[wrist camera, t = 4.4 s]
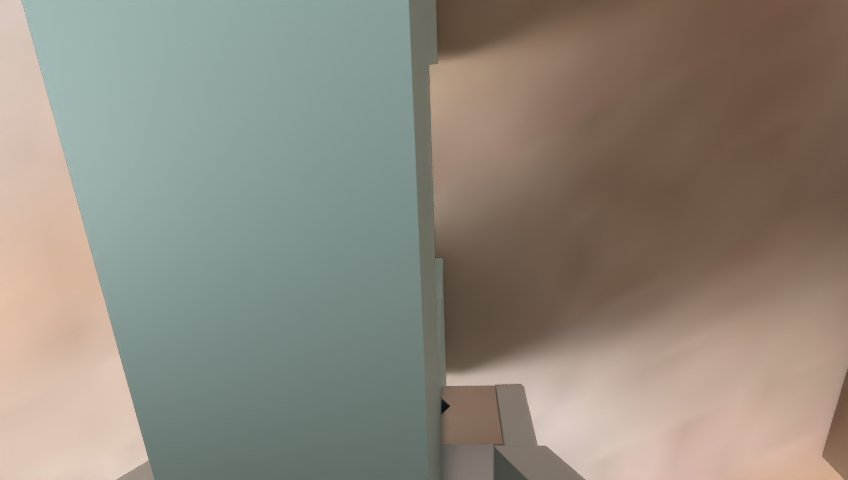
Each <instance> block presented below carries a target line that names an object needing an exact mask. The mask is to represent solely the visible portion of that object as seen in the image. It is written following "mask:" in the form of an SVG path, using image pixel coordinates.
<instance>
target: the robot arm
mask: <svg viewBox="0 0 848 480" xmlns="http://www.w3.org/2000/svg"><path fill="white" fill-rule="evenodd" d="M441 409H442V415H441V426H440V455H441V479H442V480H585V479H584V478H583V477H582V476H581V475H580V474H578V473H577V472H576V471H575V470H574V469H573V468H571V467H570V466H569V465H568V464H567V463H566V462H564V461H563V460H562V459H561V458H560V457H558V456H557V455H556V454H555V453H554V452H553V451H551V450H550V449H549V448H548V447H547V446H538V445H537V441H536V437H535V432H534V428H533V424H532V420H531V415H530V411H529V407H528V402H527V398H526V394H525V390H524V386H523V385H522V384H502V385H495V386H442V387H441ZM117 480H154V477H153V473H152V469H151V466H150V462H149V461H147V462H145V463H144V464H142V465H140V466H139V467H137V468H135V469H134V470H132V471H130V472H129V473H127V474H125V475H123V476H122V477H120V478H118V479H117Z"/></svg>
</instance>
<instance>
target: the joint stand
mask: <svg viewBox="0 0 848 480" xmlns="http://www.w3.org/2000/svg"><path fill="white" fill-rule="evenodd" d="M822 457H823V458H824V459H825V460H826V461H827V462H828V463H829V464H830V465H831V466H832V467H833V468H834V469H835V470H836V471H837V472H838V473H839V474H840V475H841V476H842V478H843V479H844V480H848V371H847V374H846V377H845V381H844V384H843V387H842V391H841V394H840V398H839V401H838V404H837V408H836V411H835V414H834V418H833V421H832V425H831V428H830V431H829V435H828V438H827V441H826V445H825V448H824V452H823V455H822Z"/></svg>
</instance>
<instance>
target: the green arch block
mask: <svg viewBox="0 0 848 480" xmlns="http://www.w3.org/2000/svg"><path fill="white" fill-rule="evenodd" d="M21 1H22V4H23V8H24V12H25V15H26V19H27V22H28V26H29V30H30V33H31V37H32V40H33V44H34V48H35V51H36V55H37V58H38V62H39V66H40V69H41V73H42V76H43V80H44V84H45V87H46V91H47V94H48V98H49V102H50V105H51V109H52V112H53V116H54V120H55V123H56V127H57V130H58V134H59V138H60V141H61V145H62V148H63V152H64V156H65V159H66V163H67V167H68V170H69V174H70V177H71V181H72V185H73V188H74V192H75V195H76V199H77V203H78V206H79V210H80V213H81V217H82V221H83V224H84V228H85V231H86V235H87V239H88V242H89V246H90V249H91V253H92V257H93V260H94V264H95V267H96V271H97V275H98V278H99V282H100V285H101V289H102V293H103V296H104V300H105V304H106V307H107V311H108V314H109V318H110V322H111V325H112V329H113V332H114V336H115V340H116V343H117V347H118V350H119V354H120V358H121V361H122V365H123V368H124V372H125V376H126V379H127V383H128V386H129V390H130V394H131V397H132V401H133V404H134V408H135V412H136V415H137V419H138V422H139V426H140V430H141V433H142V437H143V441H144V444H145V448H146V451H147V455H148V459H149V462H150V466H151V469H152V473H153V477H154V480H442V479H441V455H440V426H441V415H442V409H441V387H442V386H446V359H445V321H444V283H443V258H435V237H434V206H433V174H432V143H431V112H430V80H429V65H432V64H438V55H437V17H436V0H21Z"/></svg>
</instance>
